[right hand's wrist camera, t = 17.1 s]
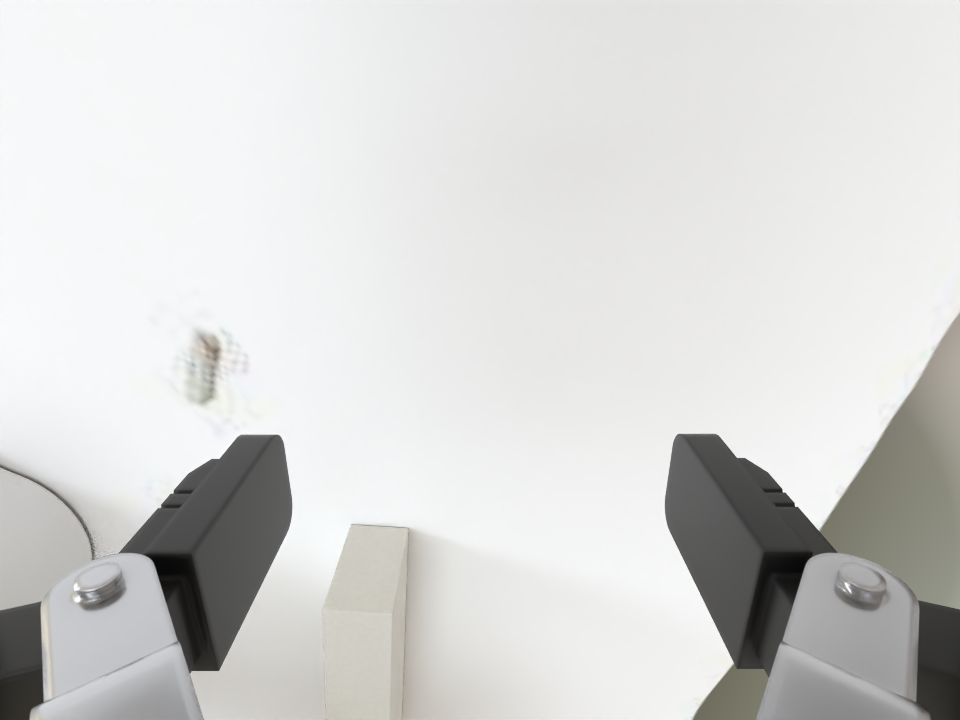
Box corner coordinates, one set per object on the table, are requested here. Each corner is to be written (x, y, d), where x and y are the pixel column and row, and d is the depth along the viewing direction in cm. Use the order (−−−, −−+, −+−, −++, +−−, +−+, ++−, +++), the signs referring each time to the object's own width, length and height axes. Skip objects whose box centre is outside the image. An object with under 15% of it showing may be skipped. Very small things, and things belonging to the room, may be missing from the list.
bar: (350, 524, 47) (321, 610, 38) (408, 527, 47) (393, 614, 38) (353, 716, 55) (329, 822, 47) (402, 719, 55) (387, 825, 47)
